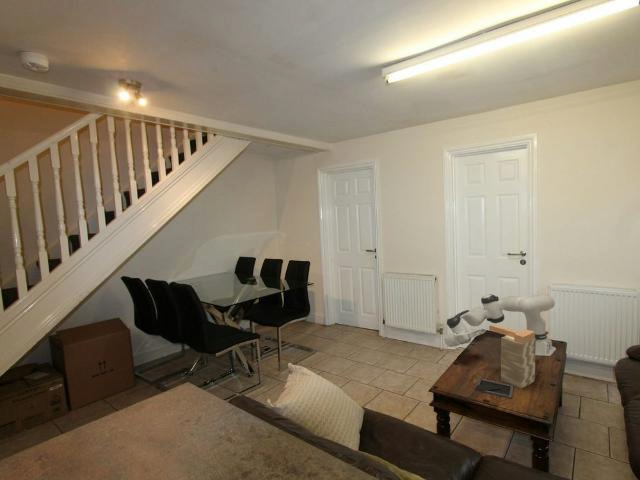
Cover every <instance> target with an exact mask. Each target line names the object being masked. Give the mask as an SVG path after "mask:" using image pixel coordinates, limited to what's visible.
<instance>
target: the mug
mask: <svg viewBox="0 0 640 480" xmlns="http://www.w3.org/2000/svg"><path fill="white" fill-rule="evenodd" d="M539 364H540V359H539V358H538V357H535V379H536V378H538V374H539Z"/></svg>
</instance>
